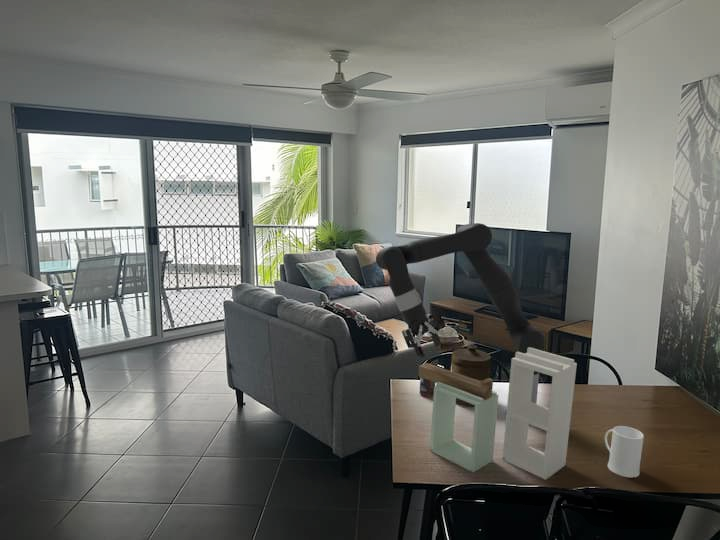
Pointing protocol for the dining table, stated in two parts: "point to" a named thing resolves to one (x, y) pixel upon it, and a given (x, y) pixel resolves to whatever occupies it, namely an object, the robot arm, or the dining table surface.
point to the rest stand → (445, 427)
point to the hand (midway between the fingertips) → (430, 351)
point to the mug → (625, 451)
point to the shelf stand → (539, 412)
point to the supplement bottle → (426, 387)
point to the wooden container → (471, 366)
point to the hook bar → (457, 380)
